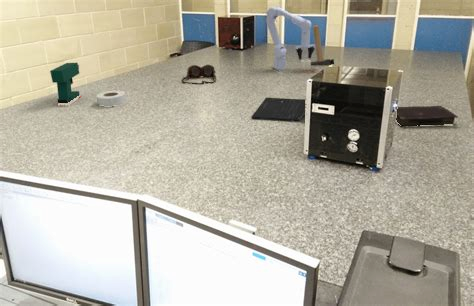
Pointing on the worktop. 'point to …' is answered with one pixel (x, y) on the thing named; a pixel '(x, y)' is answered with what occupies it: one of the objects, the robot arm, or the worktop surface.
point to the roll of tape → (111, 98)
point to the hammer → (319, 49)
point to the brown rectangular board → (309, 70)
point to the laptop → (281, 109)
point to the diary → (424, 116)
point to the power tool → (65, 81)
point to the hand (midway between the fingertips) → (304, 58)
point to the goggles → (200, 73)
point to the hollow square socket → (305, 64)
